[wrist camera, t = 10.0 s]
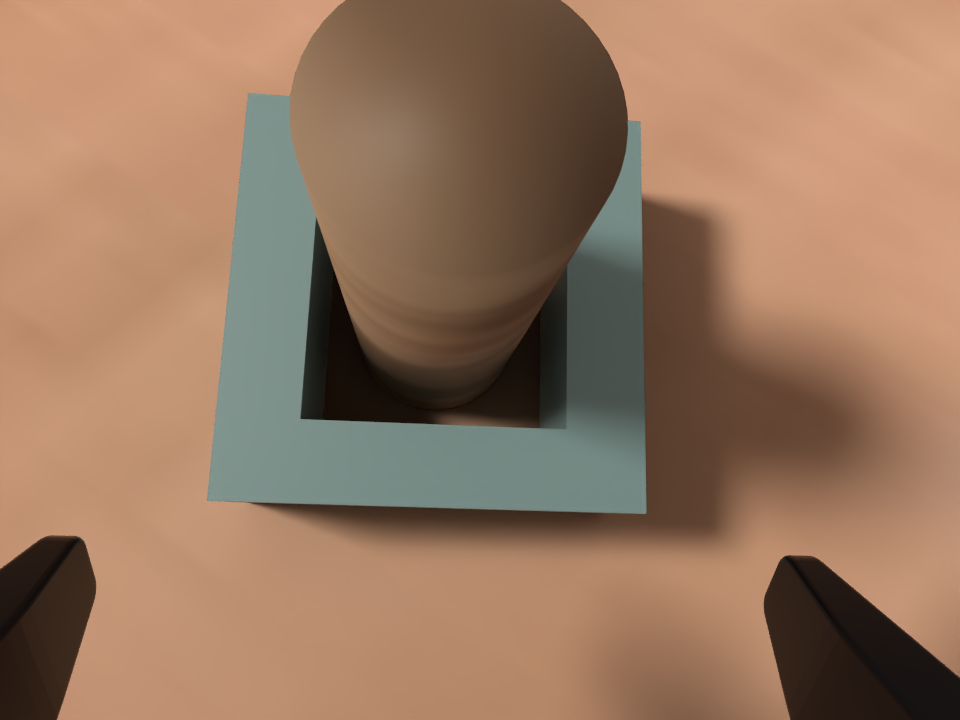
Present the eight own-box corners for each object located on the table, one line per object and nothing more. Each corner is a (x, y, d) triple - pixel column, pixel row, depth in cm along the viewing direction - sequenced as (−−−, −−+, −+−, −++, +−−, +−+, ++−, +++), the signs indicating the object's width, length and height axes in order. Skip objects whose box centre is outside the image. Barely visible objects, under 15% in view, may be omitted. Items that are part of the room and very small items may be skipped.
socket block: (603, 512, 21) (646, 513, 17) (247, 502, 20) (206, 500, 17) (602, 186, 23) (640, 121, 19) (277, 165, 22) (248, 92, 19)
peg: (441, 441, 21) (475, 347, 9) (328, 339, 22) (216, 115, 9) (540, 331, 22) (693, 111, 10) (431, 235, 22) (449, -93, 10)
